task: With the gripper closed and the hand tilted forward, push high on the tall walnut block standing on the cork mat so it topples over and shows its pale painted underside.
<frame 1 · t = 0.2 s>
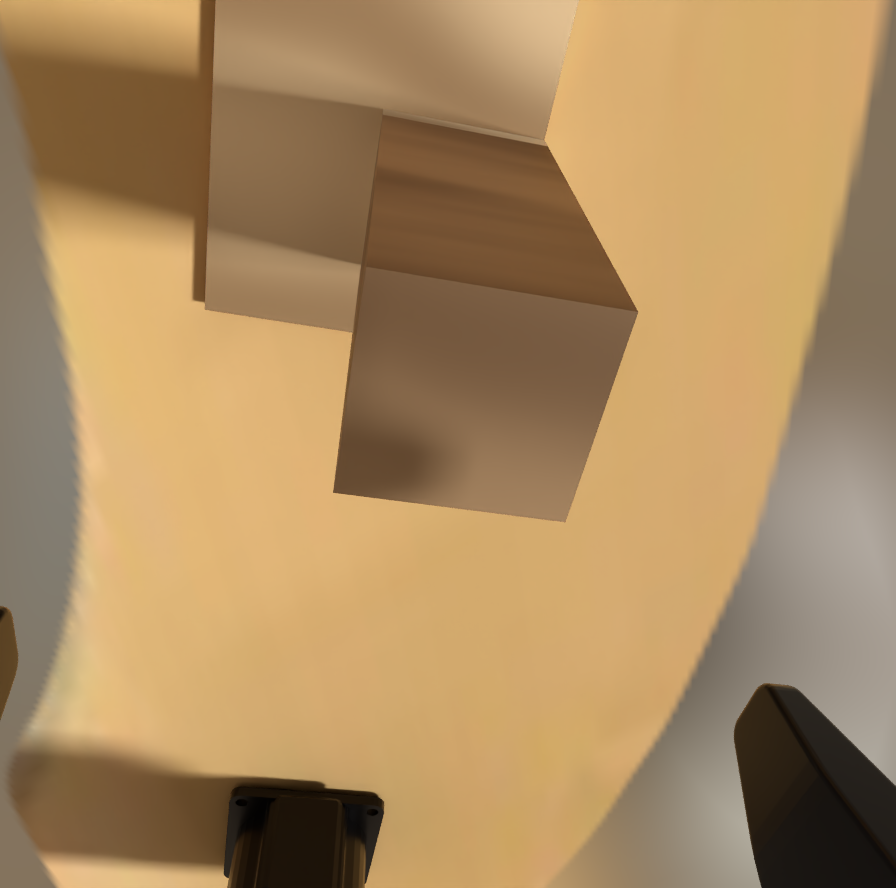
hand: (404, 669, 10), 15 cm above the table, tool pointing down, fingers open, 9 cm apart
walnut block: (449, 204, 21), resting on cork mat
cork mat: (389, 61, 20), on the table
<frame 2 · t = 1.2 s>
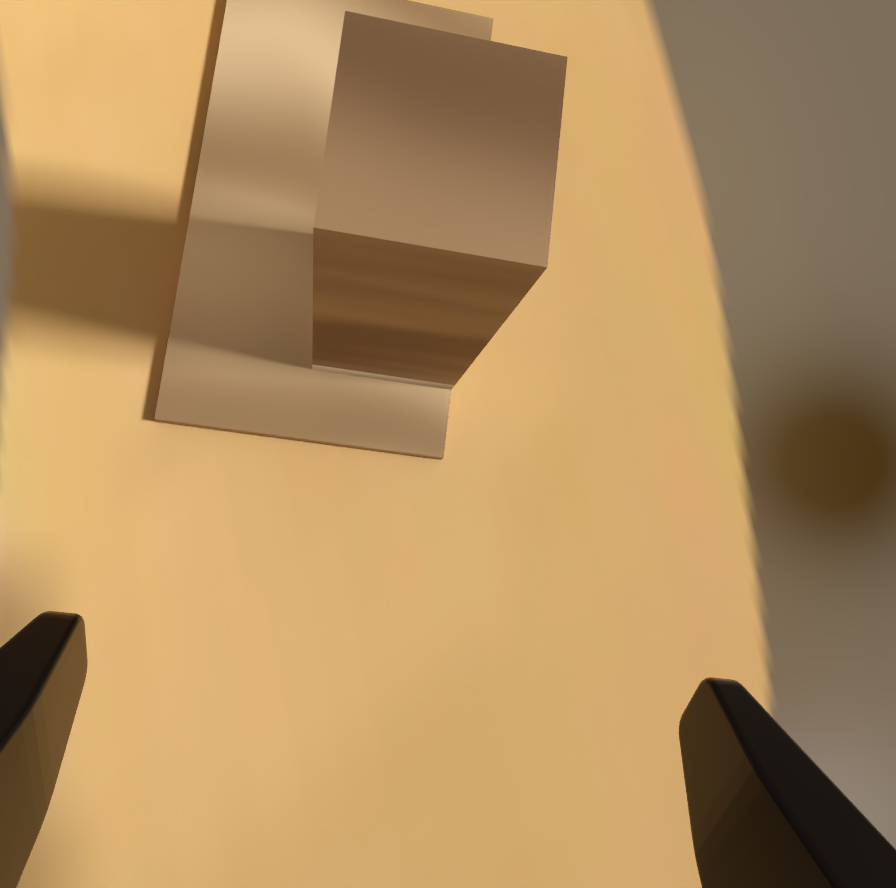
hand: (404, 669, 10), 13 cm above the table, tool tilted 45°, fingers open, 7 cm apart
walnut block: (391, 313, 24), resting on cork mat
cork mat: (335, 210, 25), on the table
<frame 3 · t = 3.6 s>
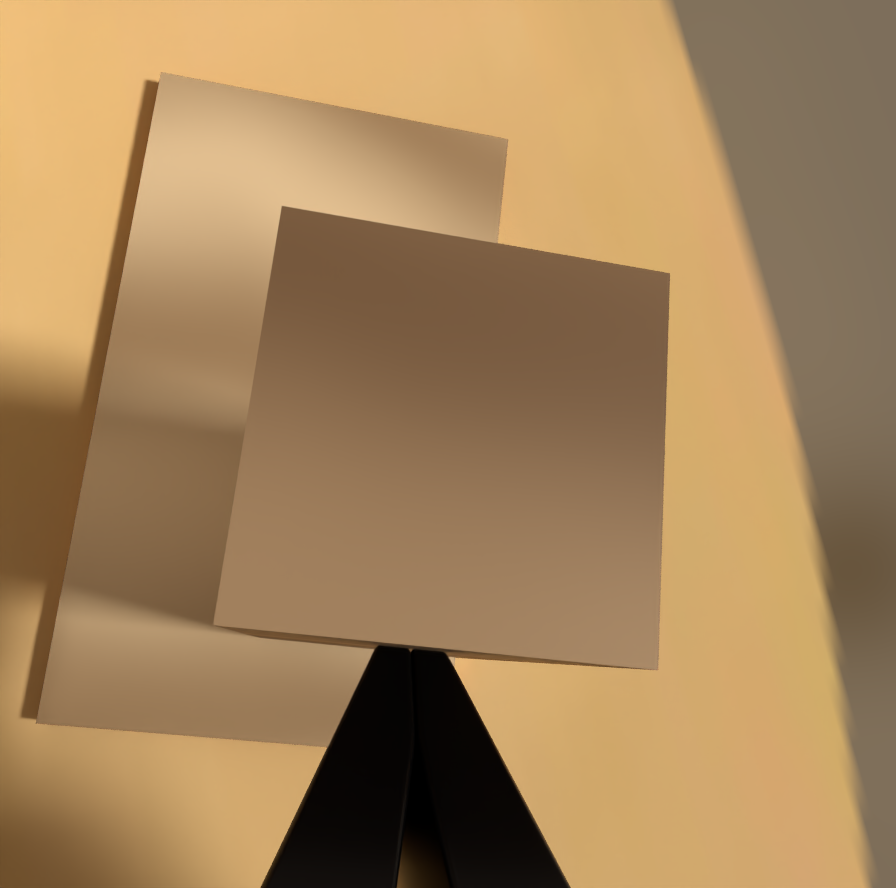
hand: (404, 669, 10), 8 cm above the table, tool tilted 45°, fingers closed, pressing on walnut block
walnut block: (373, 550, 17), point 1 cm above the table, touching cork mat, gripper
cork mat: (297, 404, 18), on the table
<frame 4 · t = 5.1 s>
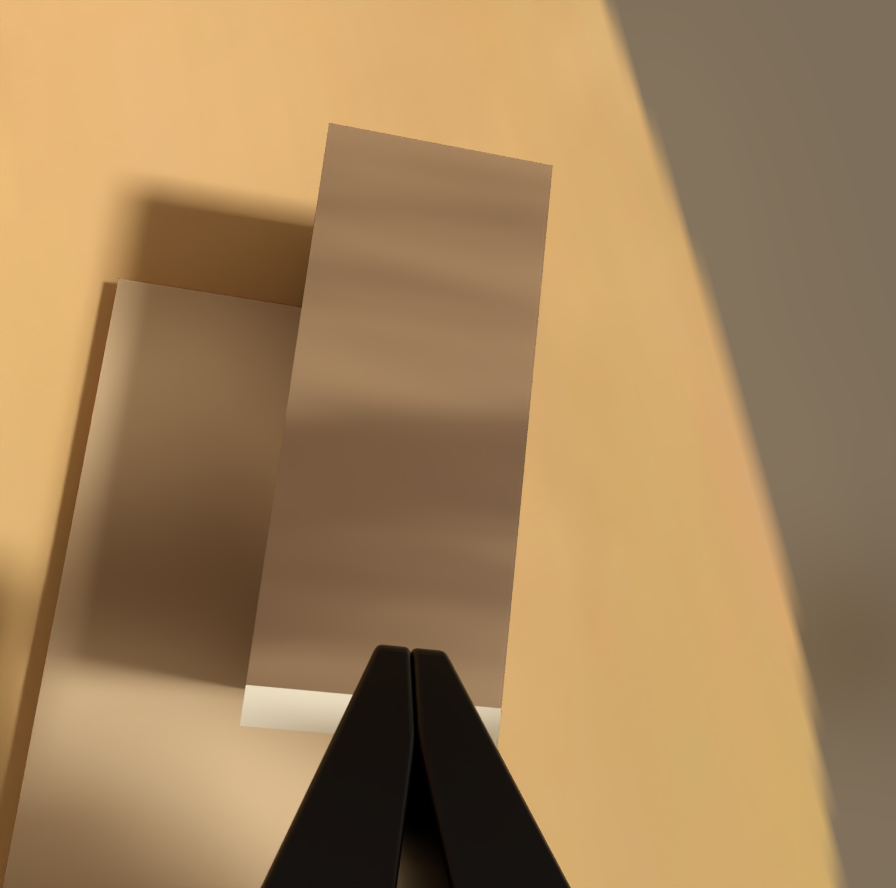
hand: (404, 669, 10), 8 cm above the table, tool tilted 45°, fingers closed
walnut block: (363, 716, 15), point 2 cm above the table, tilted 90°, touching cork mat
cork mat: (264, 639, 17), on the table
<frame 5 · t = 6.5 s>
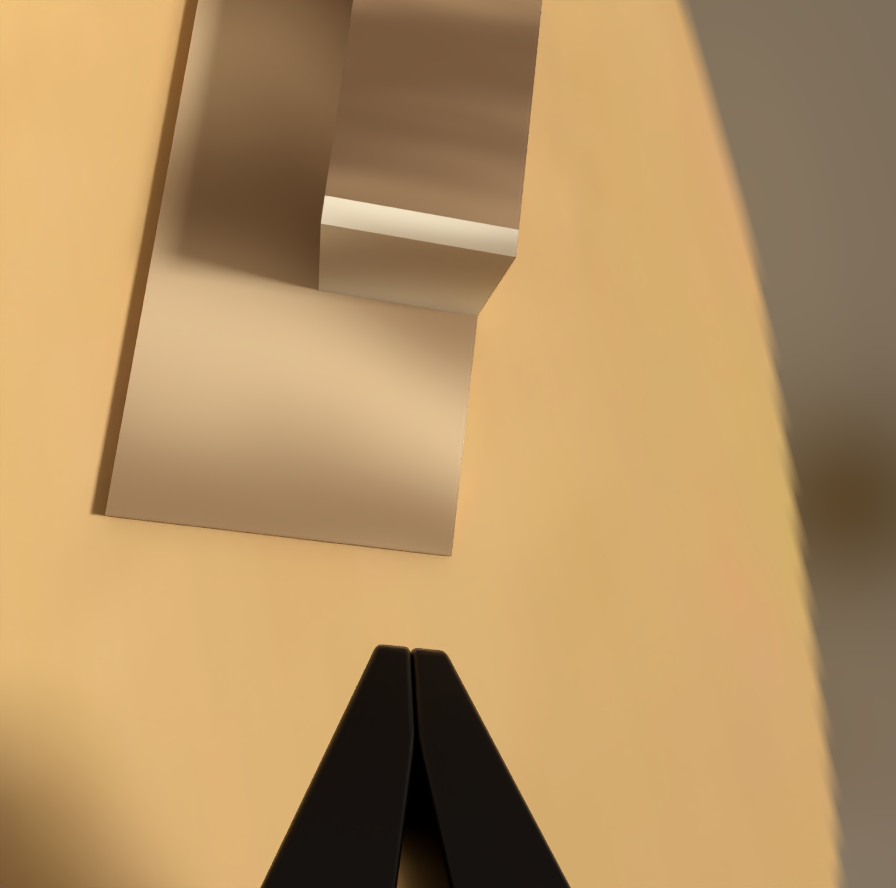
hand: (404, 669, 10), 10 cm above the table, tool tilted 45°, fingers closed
walnut block: (408, 275, 19), point 2 cm above the table, tilted 90°, touching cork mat
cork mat: (323, 259, 21), on the table
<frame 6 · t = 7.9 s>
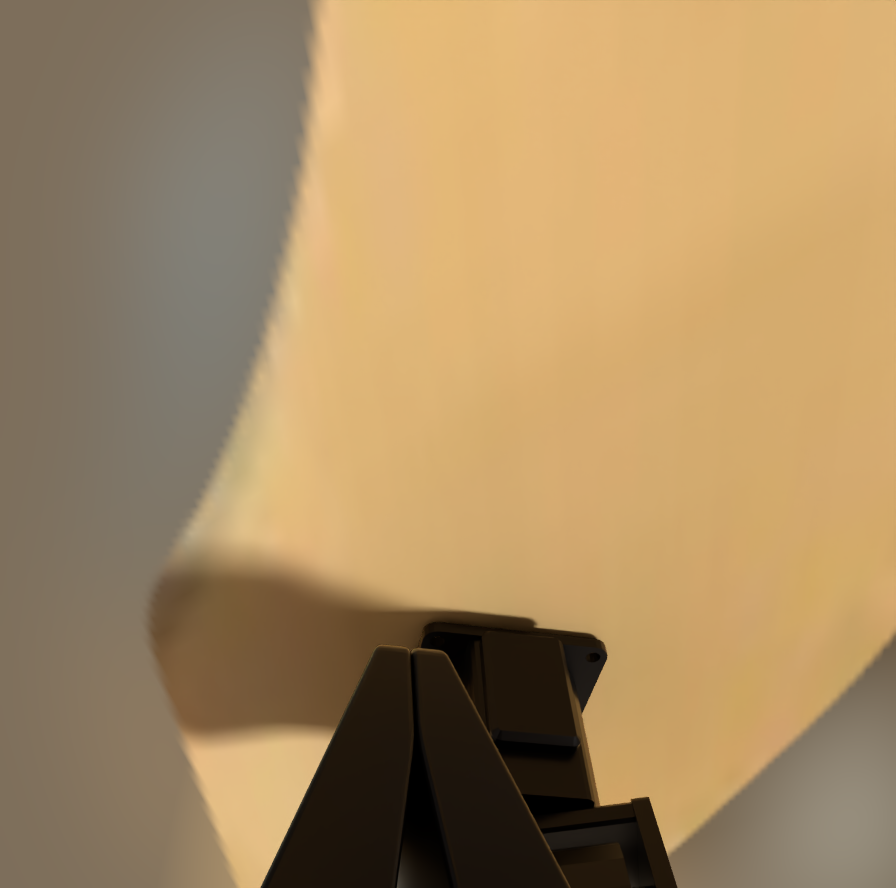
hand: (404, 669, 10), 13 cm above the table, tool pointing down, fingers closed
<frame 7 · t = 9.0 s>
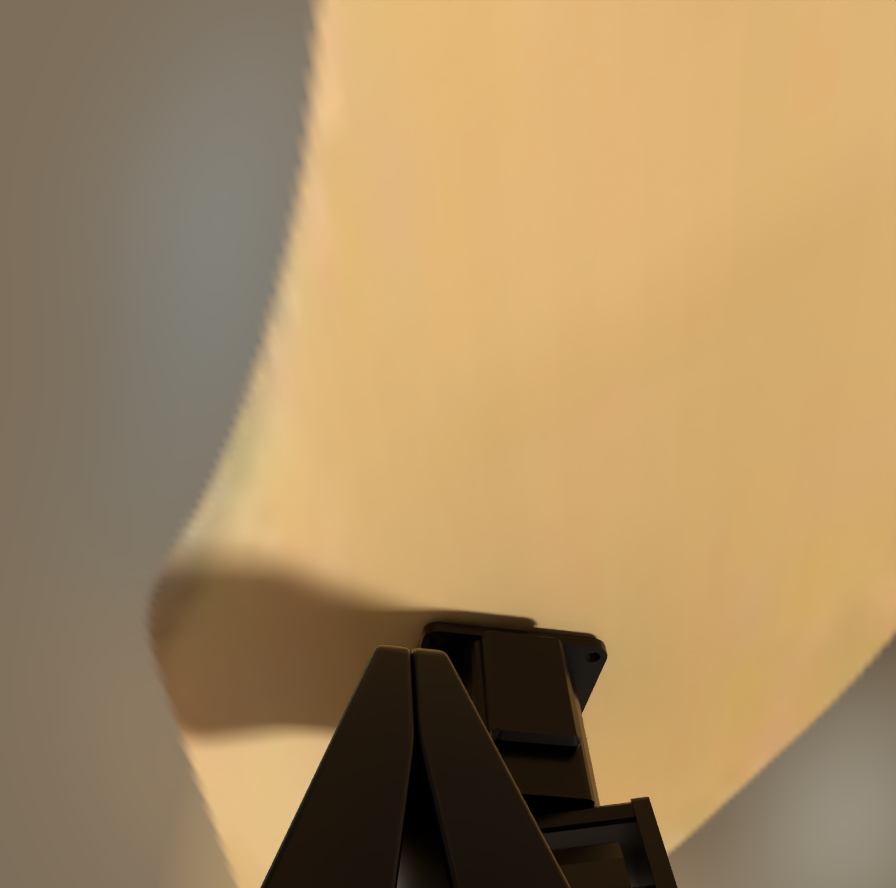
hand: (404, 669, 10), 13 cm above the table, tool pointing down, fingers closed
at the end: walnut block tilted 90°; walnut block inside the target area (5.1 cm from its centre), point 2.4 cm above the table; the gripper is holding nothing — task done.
